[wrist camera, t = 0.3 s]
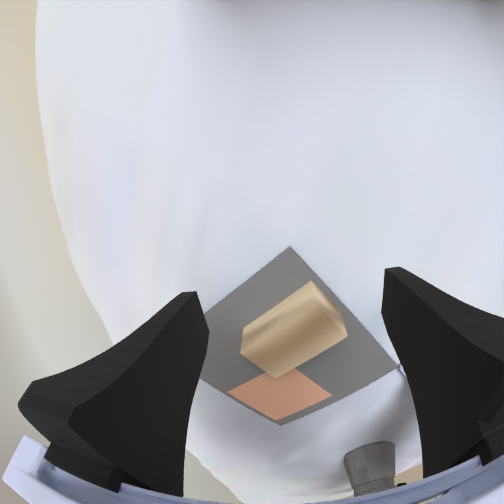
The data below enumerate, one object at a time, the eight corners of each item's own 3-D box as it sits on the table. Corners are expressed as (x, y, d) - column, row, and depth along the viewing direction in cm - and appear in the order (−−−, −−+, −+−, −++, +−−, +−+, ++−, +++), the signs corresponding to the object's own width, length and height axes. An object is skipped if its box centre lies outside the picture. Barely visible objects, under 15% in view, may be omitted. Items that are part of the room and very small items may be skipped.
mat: (396, 364, 25) (398, 367, 24) (280, 423, 30) (280, 425, 30) (289, 246, 20) (290, 248, 19) (161, 346, 25) (159, 349, 25)
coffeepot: (323, 463, 37) (326, 550, 20) (349, 441, 33) (359, 544, 16) (392, 459, 37) (403, 533, 21) (421, 436, 33) (441, 519, 17)
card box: (340, 311, 21) (347, 336, 19) (275, 353, 24) (274, 378, 21) (311, 280, 20) (315, 303, 18) (243, 327, 23) (239, 353, 20)
